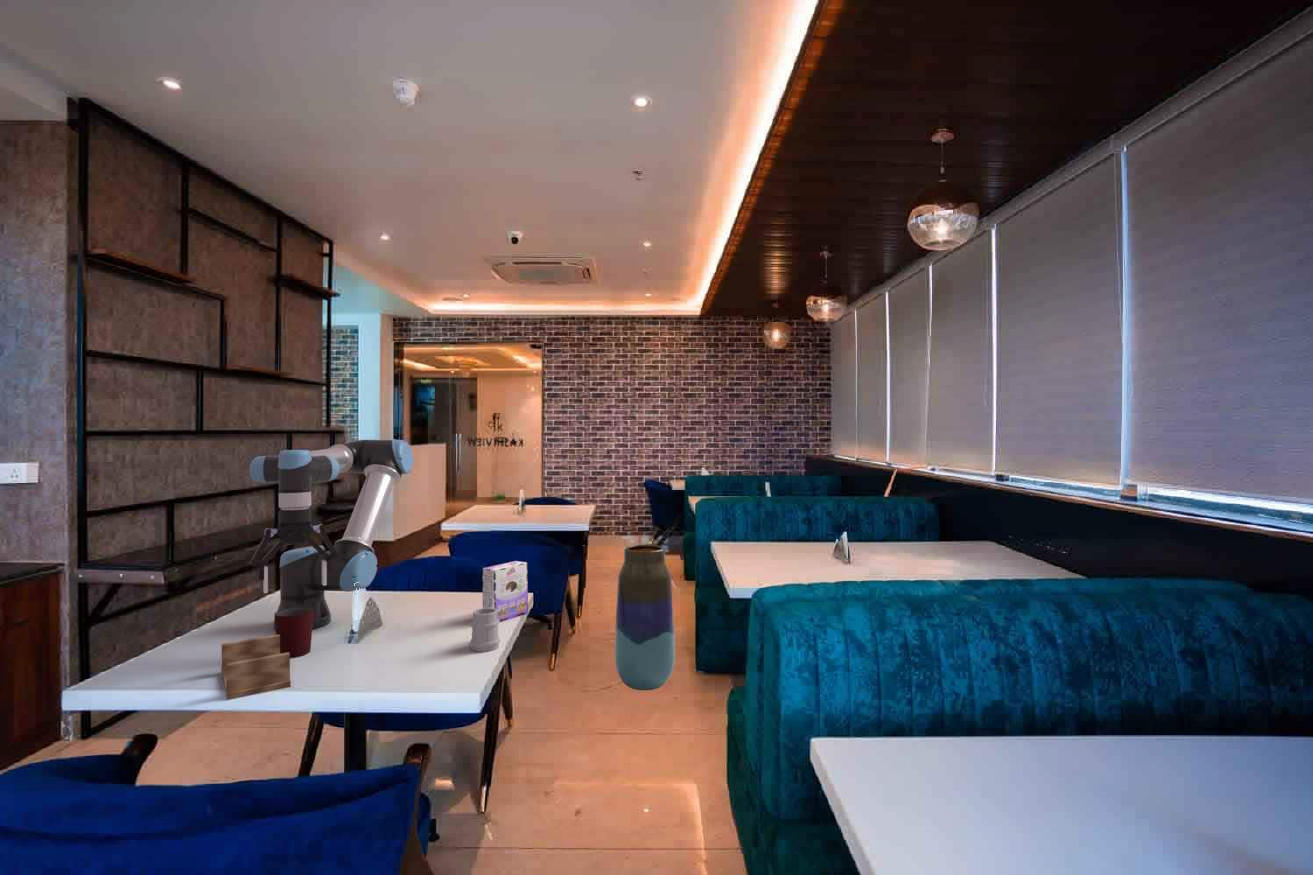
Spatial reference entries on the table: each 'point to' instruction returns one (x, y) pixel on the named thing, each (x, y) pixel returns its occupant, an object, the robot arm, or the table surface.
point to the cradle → (254, 666)
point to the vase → (644, 619)
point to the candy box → (506, 589)
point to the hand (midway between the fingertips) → (295, 588)
